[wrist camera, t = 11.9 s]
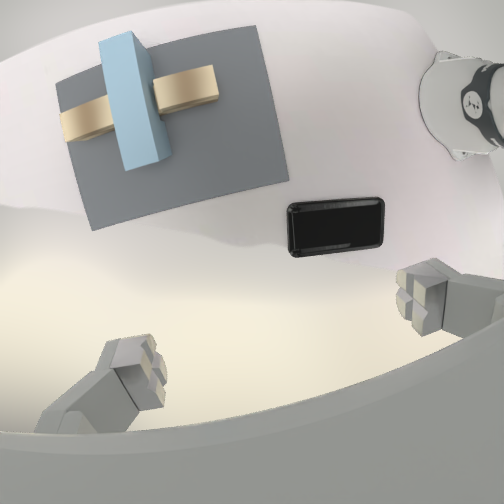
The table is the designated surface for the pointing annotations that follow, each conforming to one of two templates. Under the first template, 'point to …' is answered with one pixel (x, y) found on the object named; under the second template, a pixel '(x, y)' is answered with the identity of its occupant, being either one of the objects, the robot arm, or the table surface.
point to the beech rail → (166, 94)
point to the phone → (335, 226)
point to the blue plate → (133, 101)
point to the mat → (185, 134)
